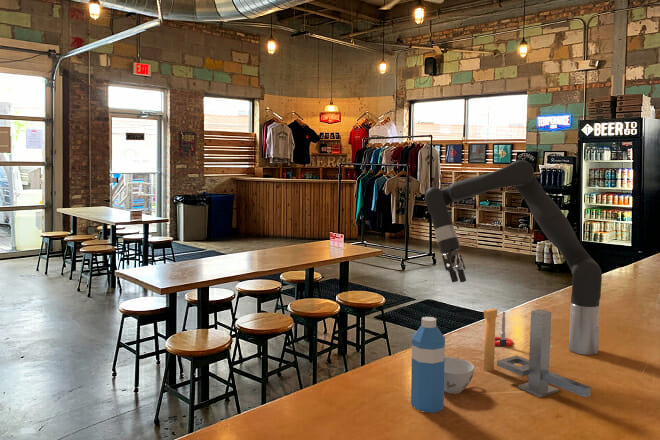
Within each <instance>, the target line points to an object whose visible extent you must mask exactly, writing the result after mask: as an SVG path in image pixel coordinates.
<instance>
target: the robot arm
mask: <svg viewBox="0 0 660 440" xmlns="http://www.w3.org/2000/svg"><path fill="white" fill-rule="evenodd" d="M505 187H506V188H507V187H514V188H515V189H516V190H517V192H518V193H519V194H520V196H522V198H523V199H524V201H525V203H526V205H527V206H528V209H529V210H530V213H531V214H532V216H533V218H534V220H535V221H536V223H537V225H538V227H540V229H541V231H542V232H543V234H544V235H545V236H546V238H547V239H548V240H549V242H551V244H552V245H553V246H555V248H556V249H557V250H558V251H559V252H560V253H561V255H562V257H563V258H564V260H565V261H566V264H567V265H568V267H569V269H570V271H571V274H572V280H571V281H572V282H571V284H572V285H571V295H570V310H569V311H570V312H569V331H568V332H569V333H568V335H569V337H568V350H569V351H570V352H571V353H575V354H580V355H585V356H586V355H587V356H589V355H598V354H599V352H598V351H599V340H600V339H599V335H600V328H599V319H600V318H599V315H600V300H601V294H602V278H603V277H602V276H603V275H602V274H603V273H602V269H601V267H600V265H599V264H598V262H597V261H595V260H594V258H593V257H591V255H590V254H589V253H588V251H586V249H585V248H584V247H583V245H582V244H581V243H580V241H579V239H578V237H577V234H576V233H575V231H574V229H573V227H572V225H571V223H570V222H569V220H568V218H567V217H566V215H565V214H564V212H563V211H562V210H561V208H560V207H559V205H558V204H557V203H556V202H555V201H554V200H553V198H551V197H550V195H548V193H547V192H546V191H545V190H544V189H543V187H542V185H541V184H540V182H539V181H538V179H537V177H536V175H535V170H534V167H533V166H532V164H531V163H530V162H529V161H527V160H523V159H517V160H515V161H513V162H511V163H510V164H508V165H506V166H504V167H502V168H499V169H497V170H494V171H491V172H489V173H484V174H481V175H477V176H472V177H469V178H463V179H462V180H458V181H455V182H453V183H450V184H449V186H447V187H444V188H441V189H440V188H439V187H436V186H432V187H430V188H429V187H428V188H427V190H426V192H425V194H424V200H425V204H426V207H427V209H428V212H429V214H430V216H431V222H432V226H433V230H434V233H435V234H434V235H435V239H436V242H437V246H438V249H439V252H440V254H441V257H442V260H443V261H442V262H443V265H444V268H445V271H446V272H448V273H449V276H450V279H451V280H450V281H451V282H452V283H457V282H458V281H459V282H460V283H464V282H467V278H466V274H465V272H464V271H465V270H466V266H465V263H464V260H463V259H464V258H463V256H462V254H458V251H460V249H461V245H460V242H459V239H458V238H459V237H458V235H457V232H456V229H455V227H454V224H453V220H452V216H451V215H450V212H449V210H448V208H447V207H448V206H449V205H452V204H454V203H455V202H459V201H463V200H466V199H469V198H473V197H476V196H480V195H481V194H484V193H487V192H491V191H493V190H497V189H500V188H505Z"/></svg>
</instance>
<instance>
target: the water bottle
mask: <svg viewBox="0 0 660 440" xmlns="http://www.w3.org/2000/svg"><path fill="white" fill-rule="evenodd" d="M420 322H421V324H420V326H419V328H418V329H417V330H416V331H415V333H414V334H413V336H412V338H411V372H410V373H411V375H410V376H411V379H410V380H411V383H410V385H411V387H410V389H411V390H410V395H411V396H410V406H411V405H412V406H413V407H415V408H416V409H417V410H419V411H424V412H423V413H426V412H430V413H429V414H434V412H435V413H438V412H442V411H443V409H444V405H445V403H444V402H445V401H444V400H445V398H444V397H445V391H444V367H445V357H446V355H445V354H446V337H445V336H444V334H443V333H442V332H441V330H440V329H439V327H438V326H437V318H436V317H434V316H422V317H421V321H420ZM413 407H412V408H413ZM416 409H415V410H416ZM417 410H416V411H417ZM419 411H418V412H419Z"/></svg>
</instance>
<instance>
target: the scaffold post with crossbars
mask: <svg viewBox="0 0 660 440" xmlns="http://www.w3.org/2000/svg"><path fill="white" fill-rule="evenodd" d="M529 328H530V329H529V332H530V333H529V359H528V358H524V357H522V356H519V355H517V354H516V355H514V356H509V357H507V358H503V359H498V360H496V366H497V367H500V368H502V369H504V370H507V371H509V372H512V373H513V374H516V375H518V376H521V377H525V376H528V377H527V378H528V380H527V381H528V382H524V383H522V384H518V386H517V388H518V389H519V390H522V391H524V392H527V393H529V394H531V395H533V396H536V397H538V398H543V397H547V396H548V395H553V394H555V393H558V392H559V388H561V389H563V390H565V391H569V392H570V393H573V394H575V395H578V396H581V397H583V398H587V397H591V391H592V390H591V386H589V385H586V384H584V383H581V382H579V381H576V380H573V379H571V378H568V377H565V376H563V375H560V374H557V373H555V372H552V371H550V355H551V354H550V353H551V335H552V334H551V331H552V330H551V329H552V311H548V310H544V309H541V308H538V309H534V310H531V311H530V327H529ZM516 364H519V365H521V366H518V365H516ZM550 384H551V385H550ZM552 385H553V386H552ZM555 386H556V387H555ZM557 387H558V388H557Z"/></svg>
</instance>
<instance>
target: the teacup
mask: <svg viewBox="0 0 660 440" xmlns="http://www.w3.org/2000/svg"><path fill="white" fill-rule="evenodd" d="M474 371H475V365H474V364H472V363H471V362H470V361H468V360H466V359H463V358H462V359H461V358H457V357H452V356H445V367H444V393H449V394H453V395H454V394H455V395H456V394H460V393H461V392H462V391H463V390H465V389H466V388H467V387H468V385H470V383H471V381H472V379H473V376H474V373H475V372H474Z"/></svg>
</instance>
